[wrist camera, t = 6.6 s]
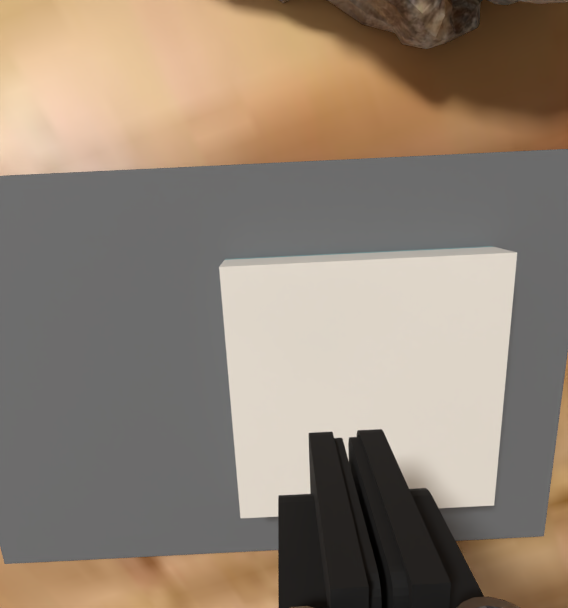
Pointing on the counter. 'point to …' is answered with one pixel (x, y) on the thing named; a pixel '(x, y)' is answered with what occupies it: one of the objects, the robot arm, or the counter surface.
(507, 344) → the tile
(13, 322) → the mat
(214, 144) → the counter surface
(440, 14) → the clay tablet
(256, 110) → the counter surface
